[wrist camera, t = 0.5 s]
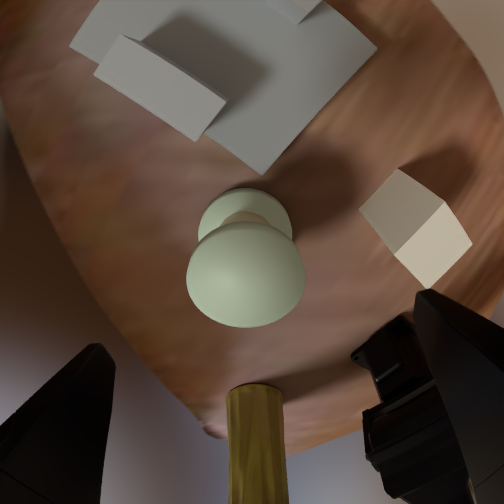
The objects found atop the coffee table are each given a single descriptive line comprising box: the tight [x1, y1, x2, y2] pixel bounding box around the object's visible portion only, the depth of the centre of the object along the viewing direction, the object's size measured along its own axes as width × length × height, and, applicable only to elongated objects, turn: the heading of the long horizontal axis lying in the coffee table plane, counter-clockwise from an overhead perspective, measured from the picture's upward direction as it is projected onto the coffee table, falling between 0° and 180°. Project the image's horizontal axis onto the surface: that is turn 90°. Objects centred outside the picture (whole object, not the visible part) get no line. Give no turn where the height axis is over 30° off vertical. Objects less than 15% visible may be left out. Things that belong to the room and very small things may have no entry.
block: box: [358, 169, 472, 289], centre depth 17 cm, size 4×4×6 cm
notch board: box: [69, 0, 378, 175], centre depth 12 cm, size 14×10×5 cm
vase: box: [226, 384, 289, 504], centre depth 25 cm, size 6×6×14 cm
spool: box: [186, 188, 306, 328], centre depth 18 cm, size 6×6×6 cm
